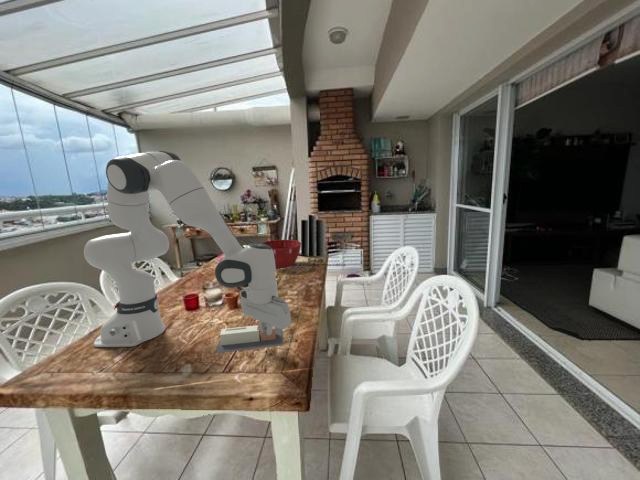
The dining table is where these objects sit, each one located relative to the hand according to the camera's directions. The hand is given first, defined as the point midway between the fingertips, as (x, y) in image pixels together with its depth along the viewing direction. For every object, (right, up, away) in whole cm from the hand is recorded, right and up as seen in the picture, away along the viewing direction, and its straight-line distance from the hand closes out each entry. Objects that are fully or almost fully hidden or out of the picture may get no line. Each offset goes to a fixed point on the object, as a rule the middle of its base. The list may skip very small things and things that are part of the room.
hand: (267, 333), depth 93 cm
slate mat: (-7, -5, +9) cm, 12 cm away
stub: (-1, -4, +9) cm, 9 cm away
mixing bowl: (-9, +13, +99) cm, 101 cm away
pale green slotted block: (-11, -5, +7) cm, 14 cm away
